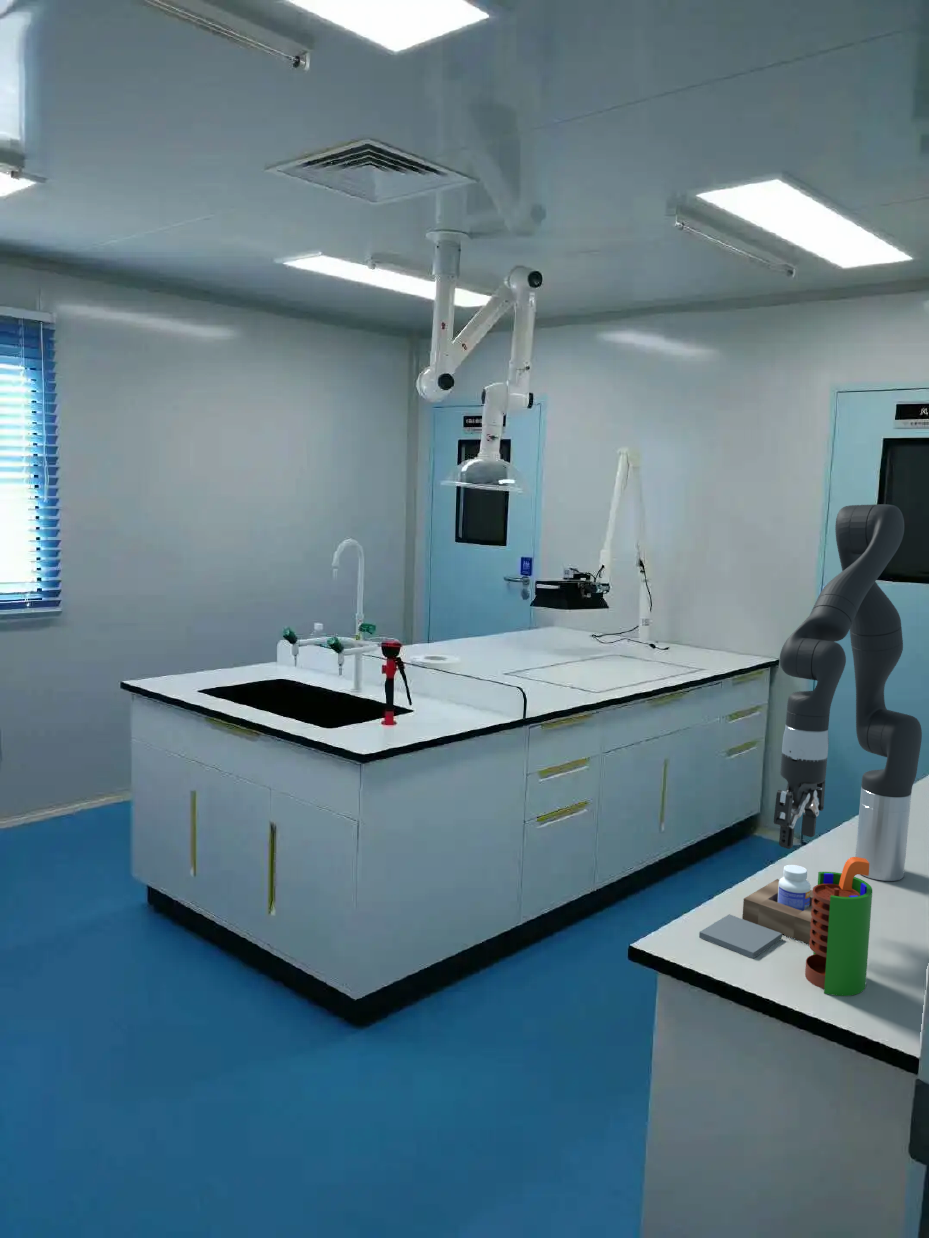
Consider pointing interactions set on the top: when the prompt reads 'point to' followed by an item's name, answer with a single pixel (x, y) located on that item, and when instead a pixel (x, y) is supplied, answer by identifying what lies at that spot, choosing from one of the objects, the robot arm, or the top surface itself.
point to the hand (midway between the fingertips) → (796, 841)
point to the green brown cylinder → (840, 930)
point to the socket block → (777, 913)
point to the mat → (740, 936)
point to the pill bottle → (794, 888)
